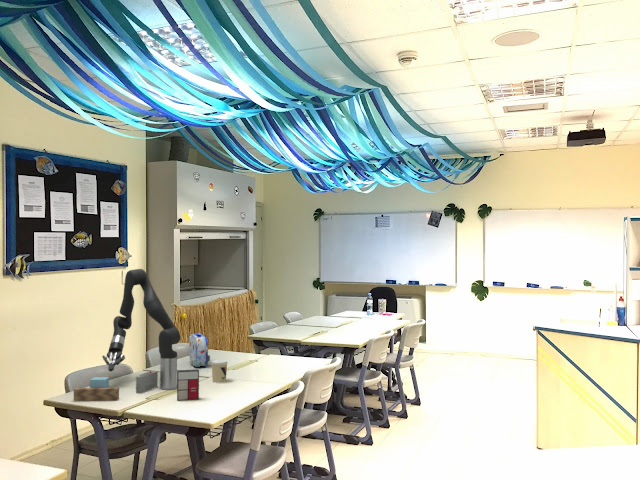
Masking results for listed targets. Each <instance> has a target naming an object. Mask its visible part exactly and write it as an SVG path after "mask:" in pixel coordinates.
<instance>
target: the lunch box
mask: <svg viewBox="0 0 640 480" xmlns="http://www.w3.org/2000/svg"><path fill="white" fill-rule="evenodd" d="M188 353H189V354H188V355H189V356H188V357H189V360H190V363H191V365H192V366H193V367H194V366H195V368H201V367H200V366H207V367H208V365H209V362H210V361H211V356H210V355H209V340H208V337H207V336H205V335H204V334H203V333H201V332H199V333H191V334H189V337H188Z"/></svg>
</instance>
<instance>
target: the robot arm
mask: <svg viewBox="0 0 640 480" xmlns="http://www.w3.org/2000/svg"><path fill="white" fill-rule="evenodd" d="M138 285H139V286H140V288H141V289H142V291H143V301H142V302H143V307H144V309H145V311H146V313H147V315H148V316H149V317H150V318H151V319H153V320H154V321H155V322H156V323H158V325H160V327H161V328H162V330H161V331H160V332H159V334H158V335H159V336H158V352H159V355H160V359H159V360H160V361H159V362H160V366H159V367H160V368H159V369H160V370H159V372H160V373H159V374H160V375H159V378H160V379H159V388H160V389H161V390H177V371H178V370H179V369H178V352H177V351H175V350H174V349H173V345H177V344H178V343H180V341H181V333H180V331H179V329H178V328H177V327H176V325H175V324H174V322H173V321H172V319H171V318H170V316H169V314H168V313H167V311H166V309H165V308H164V305H163V304H162V301H161V300H160V298H159V297H158V295H157V293H156V291H155V289H154V287H153V286H152V282H151V280H150V278H149V276H148V274H147V272H146V271H145V269H143V268H137V269H130V270H128V271H127V272H126V274H125V278H124V286H123V295H122V302H121V305H120V309H119V315H117V316H115V317H114V318H113V321H112V322H113V325H112V326H113V335H112V338H111V341H110V344H109V348H108V352H107V353H106V355H102V356H101V357H102V360H103V361H104V363H105V364H106V365H107V366H108V367H107V369H108V371H109V372H113V371H114V370H115V366H119V364H121V363H122V362H123V361H124V360H126V356H125V355H124V354H123V351H124V346H125V339H126V336H127V331H126V330H129V329H130V328H131V327H132V323H133V321H132V315H133V314H132V313H133V311H134V306H135V298H134V295H133V289H134V287H135V286H138ZM120 315H121V316H120Z"/></svg>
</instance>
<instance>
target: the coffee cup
mask: <svg viewBox="0 0 640 480" xmlns="http://www.w3.org/2000/svg"><path fill="white" fill-rule="evenodd" d="M227 370H228V361H227V360H226V359H215V360H211V376H212V379H211V380H212V383H214V382H223V383H225V382H224V381H227Z"/></svg>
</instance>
